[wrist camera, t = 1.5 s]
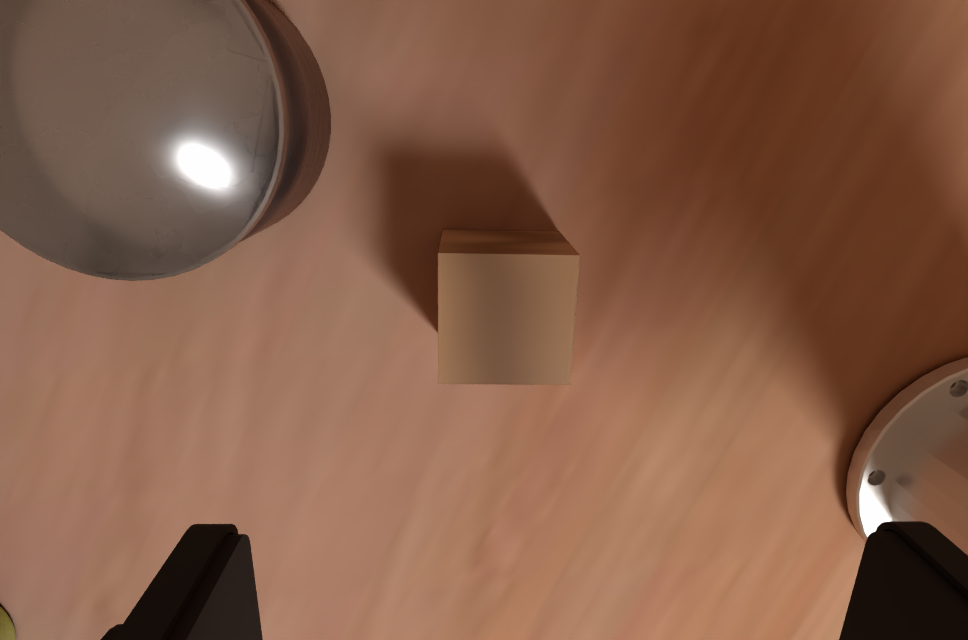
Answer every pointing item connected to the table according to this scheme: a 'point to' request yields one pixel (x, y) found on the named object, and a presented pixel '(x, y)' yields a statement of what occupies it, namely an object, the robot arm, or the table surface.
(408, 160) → the table surface
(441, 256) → the walnut block
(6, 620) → the plant pot
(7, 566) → the table surface
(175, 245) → the black tin
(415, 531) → the table surface
